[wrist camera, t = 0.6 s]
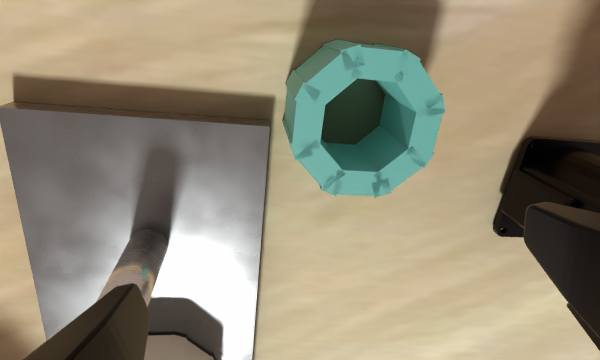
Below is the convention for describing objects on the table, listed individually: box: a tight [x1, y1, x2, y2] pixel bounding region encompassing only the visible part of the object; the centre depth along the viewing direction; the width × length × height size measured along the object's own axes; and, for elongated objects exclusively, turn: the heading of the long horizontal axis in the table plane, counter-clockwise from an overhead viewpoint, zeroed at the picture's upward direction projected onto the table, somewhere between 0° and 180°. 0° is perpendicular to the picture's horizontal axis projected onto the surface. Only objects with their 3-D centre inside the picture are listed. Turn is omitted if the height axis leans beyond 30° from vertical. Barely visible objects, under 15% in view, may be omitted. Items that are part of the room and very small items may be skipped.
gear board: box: [0, 102, 270, 360], centre depth 20 cm, size 12×22×6 cm, turn 174°
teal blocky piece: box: [282, 39, 445, 198], centre depth 18 cm, size 7×7×4 cm
